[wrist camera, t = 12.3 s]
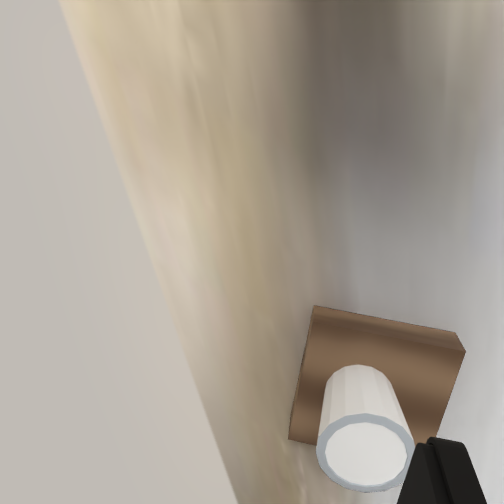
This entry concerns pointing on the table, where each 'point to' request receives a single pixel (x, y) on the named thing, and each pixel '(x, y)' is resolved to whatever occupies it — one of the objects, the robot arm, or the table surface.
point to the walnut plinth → (377, 368)
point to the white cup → (363, 431)
